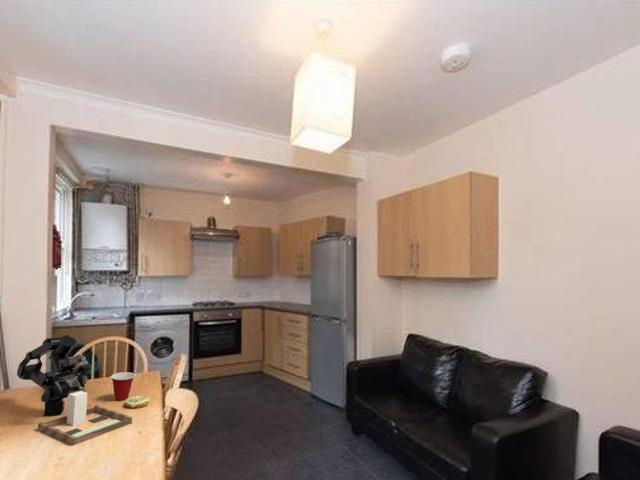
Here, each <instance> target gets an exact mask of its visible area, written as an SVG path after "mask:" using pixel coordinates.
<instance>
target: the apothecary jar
mask: <svg viewBox="0 0 640 480" xmlns="http://www.w3.org/2000/svg"><path fill="white" fill-rule="evenodd" d="M81 356H82V361H81V362H79V364H76V365H75V366H76V367H75V368H73V370H75V369H78V368H79V366H80V365H85V364H89V365H90V363H89V361H88V360H87V359H86V356H85V355H84V356H83V355H81ZM71 357H72V356H70V357H68V358H71ZM86 375H87V374H86ZM86 375H85V385H86V384H87V383H88V381H89V378H88V377H87V376H86ZM77 377H78V376H76V374H73V375H69V376H64V377H63V379H64V380H66V382H67V383H68V384H69V386H70V390H69V393H68V396H69V394H71V393H75V392H79V391H83V392H86V389H85V388H82V387H81V385H80V383H79V381H78V380H77Z"/></svg>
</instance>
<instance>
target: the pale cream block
mask: <svg viewBox="0 0 640 480" xmlns="http://www.w3.org/2000/svg"><path fill="white" fill-rule="evenodd" d="M67 398H68V399H67V400H68V401H67V414H66V416H67V422H66V424H67V425H70V426H73V427H74V426H77V425H79V424H83V423H86V421H87V415H86V410H87V407H88V392H86V391H84V392H83V391H79V392H75V393H71V394H69V395H68V397H67Z"/></svg>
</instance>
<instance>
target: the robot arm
mask: <svg viewBox="0 0 640 480" xmlns="http://www.w3.org/2000/svg"><path fill="white" fill-rule="evenodd" d="M75 345H77V340H76V339H75V338H74V337H72V336H69V334H64V335H63V336H55V337H54V336H53V337H48V338H45V339H44V340H43V342H42V344H41V345H40V346H38V347H35V348H34V349H32V350H30V351H28V352H27V353H26V354H25V357H24V358H23V359H22V361H20V363H19V364H18V368H17V372H16V375H17V377H18V378H19V379H21V380H22V381H23V380H24V381H28V380H29V381H31V382H33V383H35V384H36V385H38V386H39V387H40V388H42V389H43V390H44V392H43V393H42V395H41V396H40V399H41V402H42V403H44V413H43V415H42V417H53V416H60V415H62V413H63V412H64V410H65V403H66V401H65V400H64V399H66V398H69V395H68V393H69V390H70V386H69V384H68V383H67V382H66V380H64V376H69V375H73V374H76V376H78V377H77V380H78V381H79V383H80V385H81V387H80V388H82V389H85V387H86V384H85V375H88V373H89V372H90V370H91V369H92V366H91V364H90V363H89V364H85V365H80V366H79V368H78V369H75V370H73V368H75V367H76V366H75V365H76V364H79V362H81V361H82V356H83V355H82V354H76V355H74V356H70V357H71V358H69V357H68V356H69V355H68V354H70V352H72V350H73V348H74V347H75ZM48 353H50V354H49V356H48V360H52V363H53V367H52V368H53V371H52V370H50V371H46V372H43V371H42V367H43V362H42V361H41V358H42V357H43V356H44V355H46V354H48ZM32 360H37V363H32V364H29V362H30V361H32Z"/></svg>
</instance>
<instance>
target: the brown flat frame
mask: <svg viewBox="0 0 640 480" xmlns="http://www.w3.org/2000/svg"><path fill="white" fill-rule="evenodd" d="M95 413H97V414H99V415H100V416H97V417H93V418H91V419H88V422H90V423H93V424H96V423H99V422H101V421H105V420H108V419H109V418H111V419H113V420H115V419H118V420H120V422H117V423H114V424H112V425H109V426H106V427H104V428H101V429H98V430H95V431H93V432H90V433H87V434H84V435H82V436H79V437H75V436H73V434H75V433H78V432H81V431H83V430H82V429H80V428H73V429H71V430H70V429H69V430H67V431H64V430H60V429H58V428H56V427H54V426H57V425H61V424H63V423H67V415H65V416H62V417H59V418H55V419H52V420H49V421H46V422H39V423H37V430H38V431H40V432H42V433H44V434H47V435H48V436H50V437H51V436H52V437H53V438H55V439H58V440H60V441H63V442H64V443H66V444H69V445H71V446H75V445H78V444H81V443H83V442H87V441H88V440H91V439H94V438H96V437H99V436H103V435H104V434H107V433H111V431H115V430H117V429H120V428H123V427H126V426H128V425H131V424H133V416H131V415H127V414H125V413H121V412H119V411H115V410H113V409H110V408H107V407H103V406H101V405H94V406H93V407H91V408H88V409H86V416H88V415H91V414H95Z"/></svg>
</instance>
